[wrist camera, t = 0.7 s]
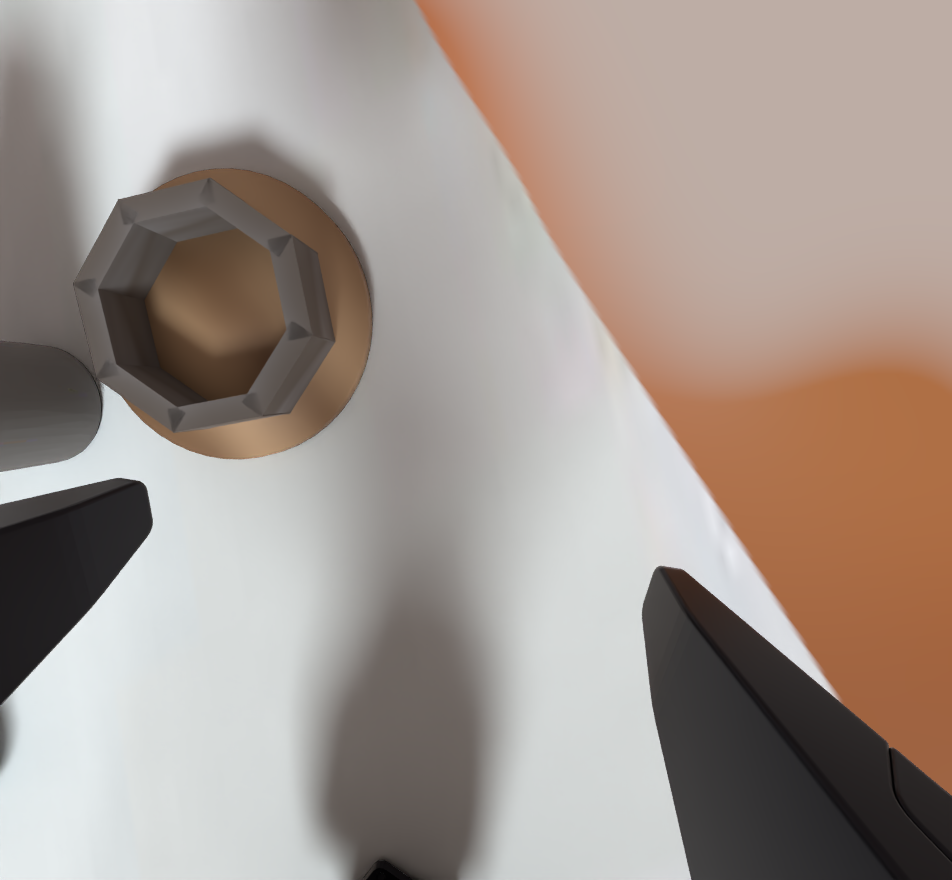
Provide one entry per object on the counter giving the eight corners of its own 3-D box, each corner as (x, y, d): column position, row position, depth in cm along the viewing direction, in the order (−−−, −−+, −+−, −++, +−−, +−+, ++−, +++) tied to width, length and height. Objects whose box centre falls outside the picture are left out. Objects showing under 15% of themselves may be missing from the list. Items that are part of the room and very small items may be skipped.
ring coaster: (278, 509, 23) (241, 528, 20) (63, 356, 24) (-10, 351, 20) (426, 281, 22) (410, 262, 19) (193, 119, 22) (136, 71, 19)
